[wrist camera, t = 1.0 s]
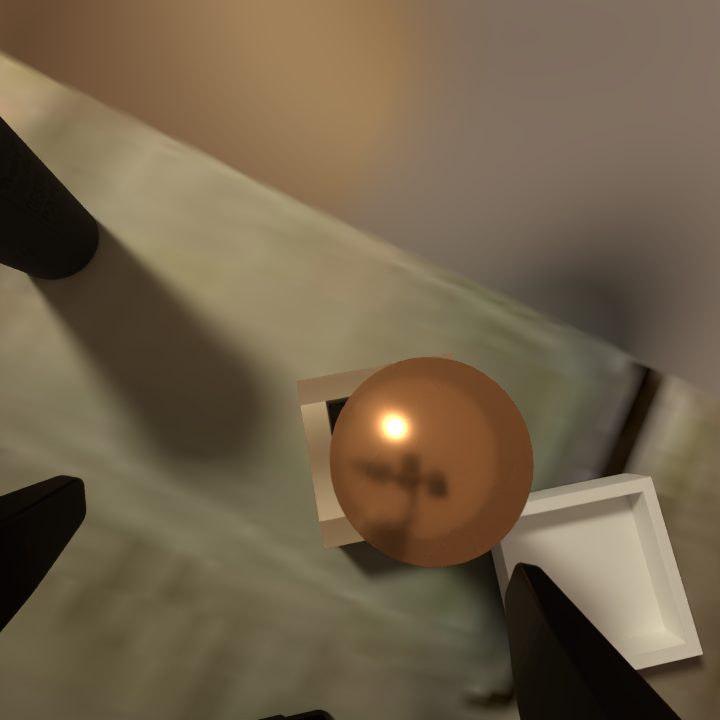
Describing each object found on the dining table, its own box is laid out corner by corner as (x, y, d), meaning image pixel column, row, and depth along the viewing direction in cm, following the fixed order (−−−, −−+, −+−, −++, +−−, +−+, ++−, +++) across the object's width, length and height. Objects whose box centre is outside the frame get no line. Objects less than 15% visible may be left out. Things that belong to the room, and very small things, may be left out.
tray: (670, 634, 22) (702, 654, 20) (518, 669, 21) (535, 693, 19) (625, 473, 23) (650, 476, 21) (480, 502, 23) (492, 509, 21)
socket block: (471, 504, 23) (489, 514, 20) (327, 533, 22) (324, 548, 19) (439, 363, 24) (452, 352, 21) (303, 388, 24) (296, 381, 21)
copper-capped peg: (440, 482, 23) (556, 543, 10) (348, 501, 23) (349, 587, 10) (420, 391, 24) (505, 341, 11) (332, 408, 23) (313, 376, 11)
